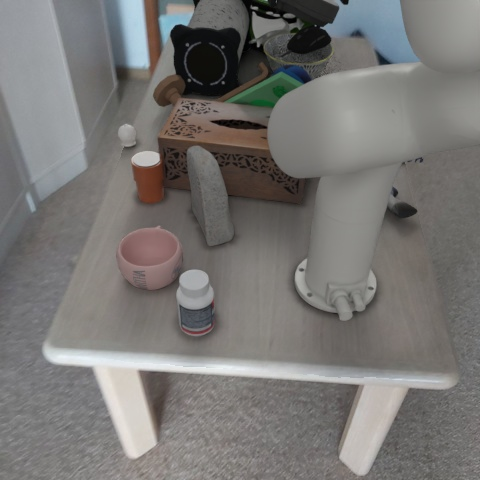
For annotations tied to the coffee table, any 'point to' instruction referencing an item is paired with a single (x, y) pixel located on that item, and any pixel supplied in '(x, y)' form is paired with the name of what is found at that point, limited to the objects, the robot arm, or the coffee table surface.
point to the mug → (150, 258)
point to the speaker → (212, 46)
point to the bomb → (294, 73)
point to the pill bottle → (195, 303)
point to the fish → (400, 206)
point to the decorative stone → (209, 196)
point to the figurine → (270, 28)
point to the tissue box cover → (226, 149)
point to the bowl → (296, 56)
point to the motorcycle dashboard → (310, 10)
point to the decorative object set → (127, 135)
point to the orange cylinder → (148, 176)
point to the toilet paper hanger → (175, 85)
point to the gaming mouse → (308, 40)
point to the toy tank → (272, 17)
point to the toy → (267, 91)
